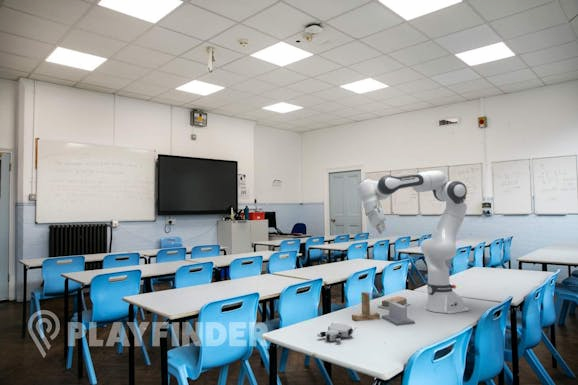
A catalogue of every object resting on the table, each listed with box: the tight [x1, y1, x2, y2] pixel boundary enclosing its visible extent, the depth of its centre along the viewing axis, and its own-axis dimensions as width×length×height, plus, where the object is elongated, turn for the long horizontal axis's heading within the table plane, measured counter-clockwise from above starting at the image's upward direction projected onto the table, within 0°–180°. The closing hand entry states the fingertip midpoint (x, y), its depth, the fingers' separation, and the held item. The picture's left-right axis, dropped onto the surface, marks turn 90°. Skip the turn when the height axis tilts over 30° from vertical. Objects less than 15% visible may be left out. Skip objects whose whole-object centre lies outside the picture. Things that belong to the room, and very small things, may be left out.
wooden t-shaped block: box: [351, 291, 381, 322], centre depth 197 cm, size 14×3×14 cm, turn 105°
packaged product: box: [377, 296, 411, 311], centre depth 222 cm, size 18×5×10 cm
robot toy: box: [316, 322, 357, 342], centre depth 169 cm, size 12×4×15 cm
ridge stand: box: [381, 302, 416, 327], centre depth 194 cm, size 10×14×8 cm
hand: (382, 232), depth 206 cm, fingers open, 8 cm apart
